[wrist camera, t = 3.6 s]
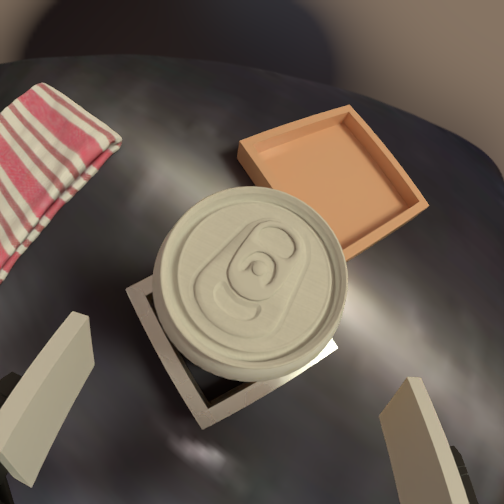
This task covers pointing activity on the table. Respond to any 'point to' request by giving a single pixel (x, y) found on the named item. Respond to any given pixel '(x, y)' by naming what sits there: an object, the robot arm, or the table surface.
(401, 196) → the serving tray
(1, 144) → the dish towel
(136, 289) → the frame
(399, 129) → the table surface
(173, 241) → the beer can
